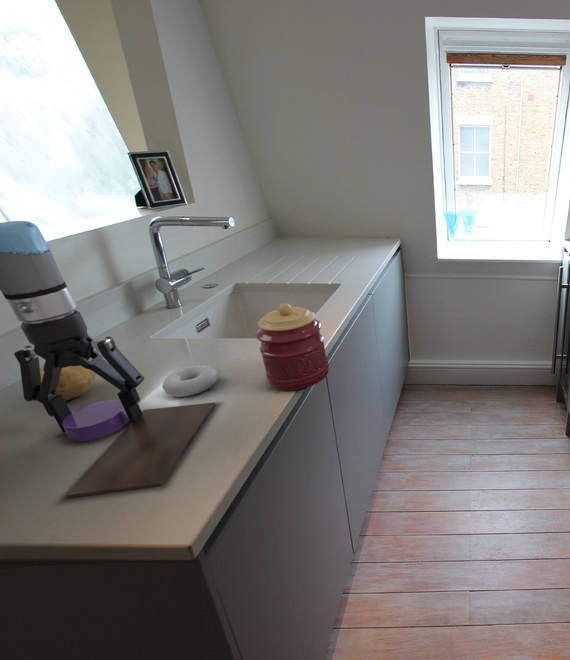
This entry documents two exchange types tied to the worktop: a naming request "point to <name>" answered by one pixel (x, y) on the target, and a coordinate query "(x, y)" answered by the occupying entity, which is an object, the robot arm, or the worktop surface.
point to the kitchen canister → (292, 348)
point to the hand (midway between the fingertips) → (104, 423)
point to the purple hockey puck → (95, 421)
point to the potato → (73, 381)
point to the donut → (190, 381)
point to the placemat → (144, 451)
